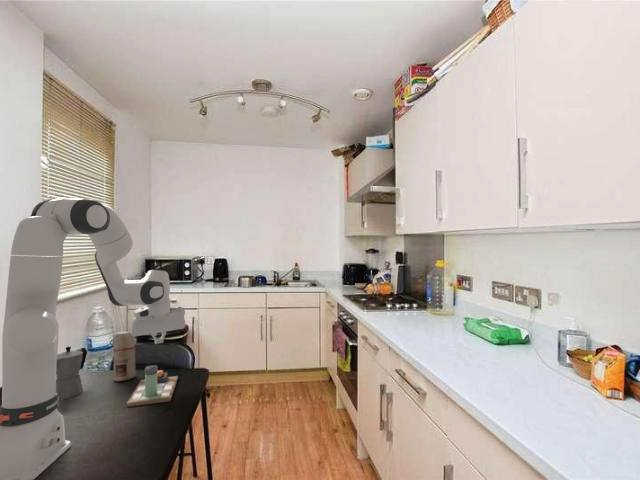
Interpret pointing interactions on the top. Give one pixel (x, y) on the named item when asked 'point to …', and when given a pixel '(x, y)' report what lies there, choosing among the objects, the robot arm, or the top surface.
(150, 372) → the green capped bottle
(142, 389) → the checkered tray
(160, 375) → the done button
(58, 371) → the coffeepot
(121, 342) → the tan paper carton
